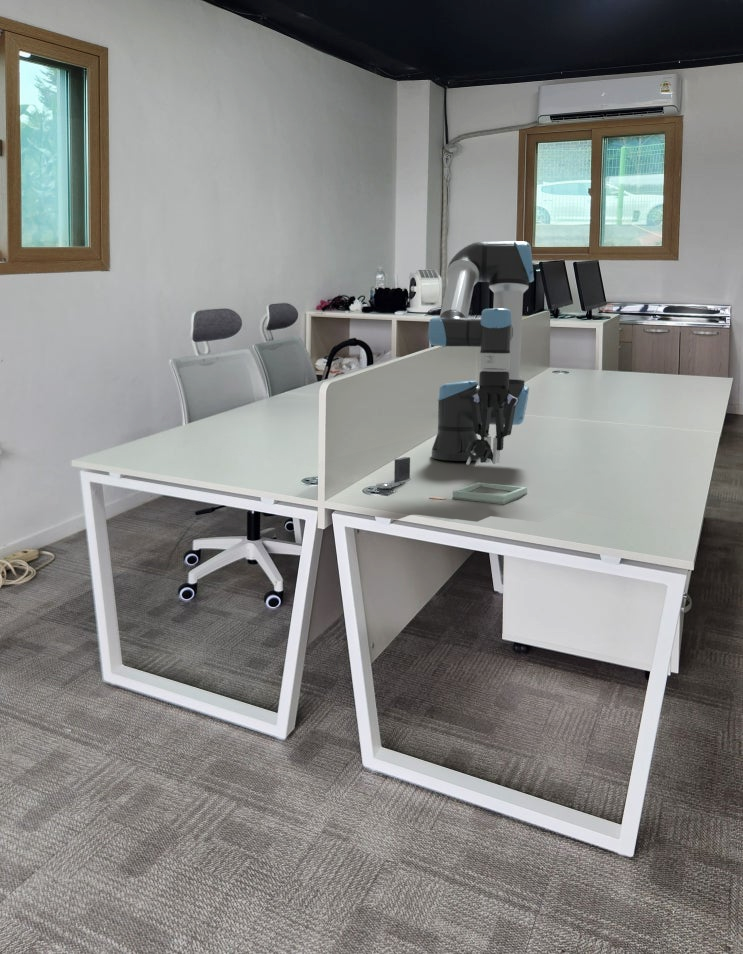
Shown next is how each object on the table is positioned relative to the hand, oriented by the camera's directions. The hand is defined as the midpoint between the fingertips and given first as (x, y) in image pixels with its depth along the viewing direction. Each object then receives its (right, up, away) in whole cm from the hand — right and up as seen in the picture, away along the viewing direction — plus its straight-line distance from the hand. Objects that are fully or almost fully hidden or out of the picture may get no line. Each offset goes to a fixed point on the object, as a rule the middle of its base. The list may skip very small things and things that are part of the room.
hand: (491, 462), depth 222 cm
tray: (0, -9, +2) cm, 9 cm away
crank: (-25, -6, +10) cm, 28 cm away
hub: (-28, -8, +6) cm, 29 cm away
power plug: (0, -3, 0) cm, 3 cm away
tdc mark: (-14, -9, -2) cm, 17 cm away
